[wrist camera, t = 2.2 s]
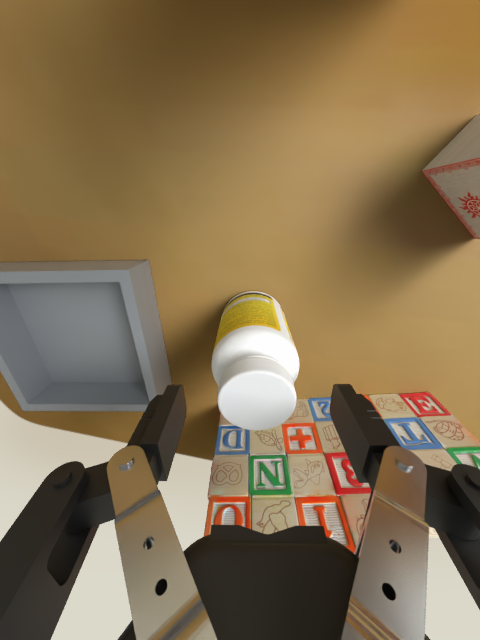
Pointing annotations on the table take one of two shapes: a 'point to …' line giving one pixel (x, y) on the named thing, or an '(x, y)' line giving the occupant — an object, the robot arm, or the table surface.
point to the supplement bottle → (255, 363)
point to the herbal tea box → (460, 175)
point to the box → (81, 335)
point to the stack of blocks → (321, 466)
